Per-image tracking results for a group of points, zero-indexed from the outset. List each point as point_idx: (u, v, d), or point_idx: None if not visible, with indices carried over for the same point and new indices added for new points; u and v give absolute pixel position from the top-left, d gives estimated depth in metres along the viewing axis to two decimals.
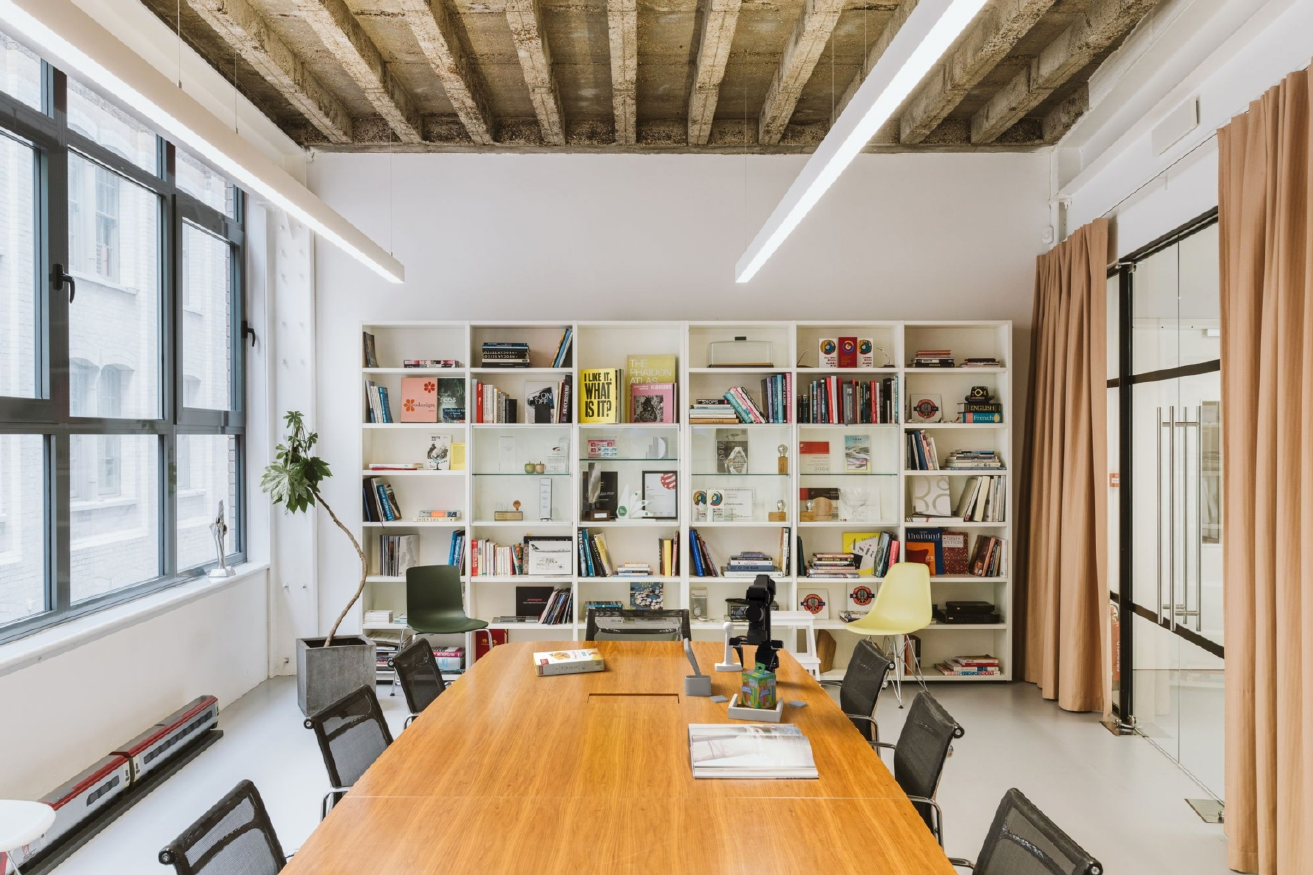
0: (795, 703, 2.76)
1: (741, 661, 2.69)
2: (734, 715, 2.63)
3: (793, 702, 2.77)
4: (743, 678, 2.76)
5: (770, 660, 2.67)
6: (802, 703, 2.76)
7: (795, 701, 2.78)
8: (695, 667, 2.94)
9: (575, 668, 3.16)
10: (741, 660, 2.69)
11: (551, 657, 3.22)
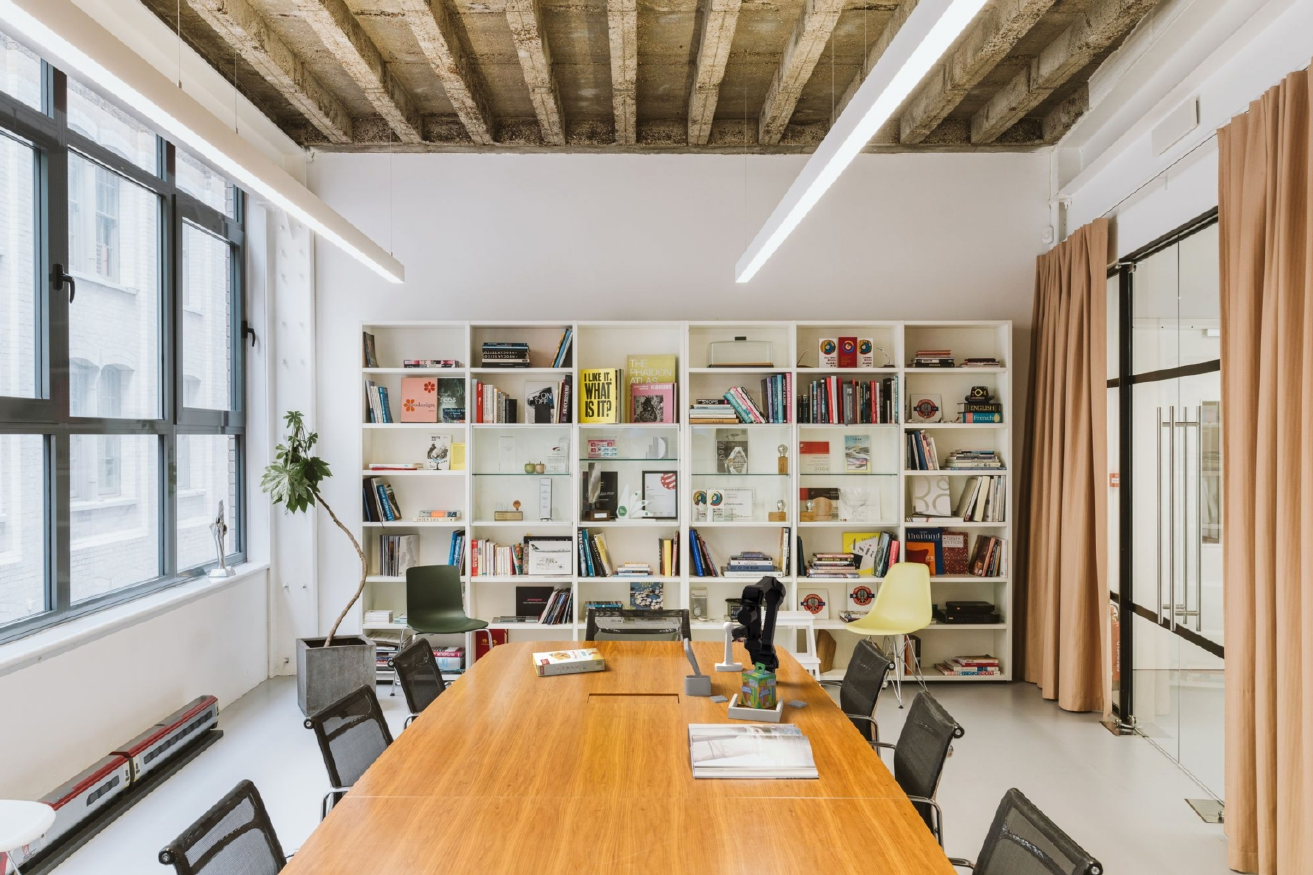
0: (795, 703, 2.76)
1: None
2: (734, 715, 2.63)
3: (793, 702, 2.77)
4: (743, 678, 2.76)
5: (750, 656, 2.84)
6: (802, 703, 2.76)
7: (795, 701, 2.78)
8: (695, 667, 2.94)
9: (576, 668, 3.16)
10: None
11: (551, 657, 3.22)
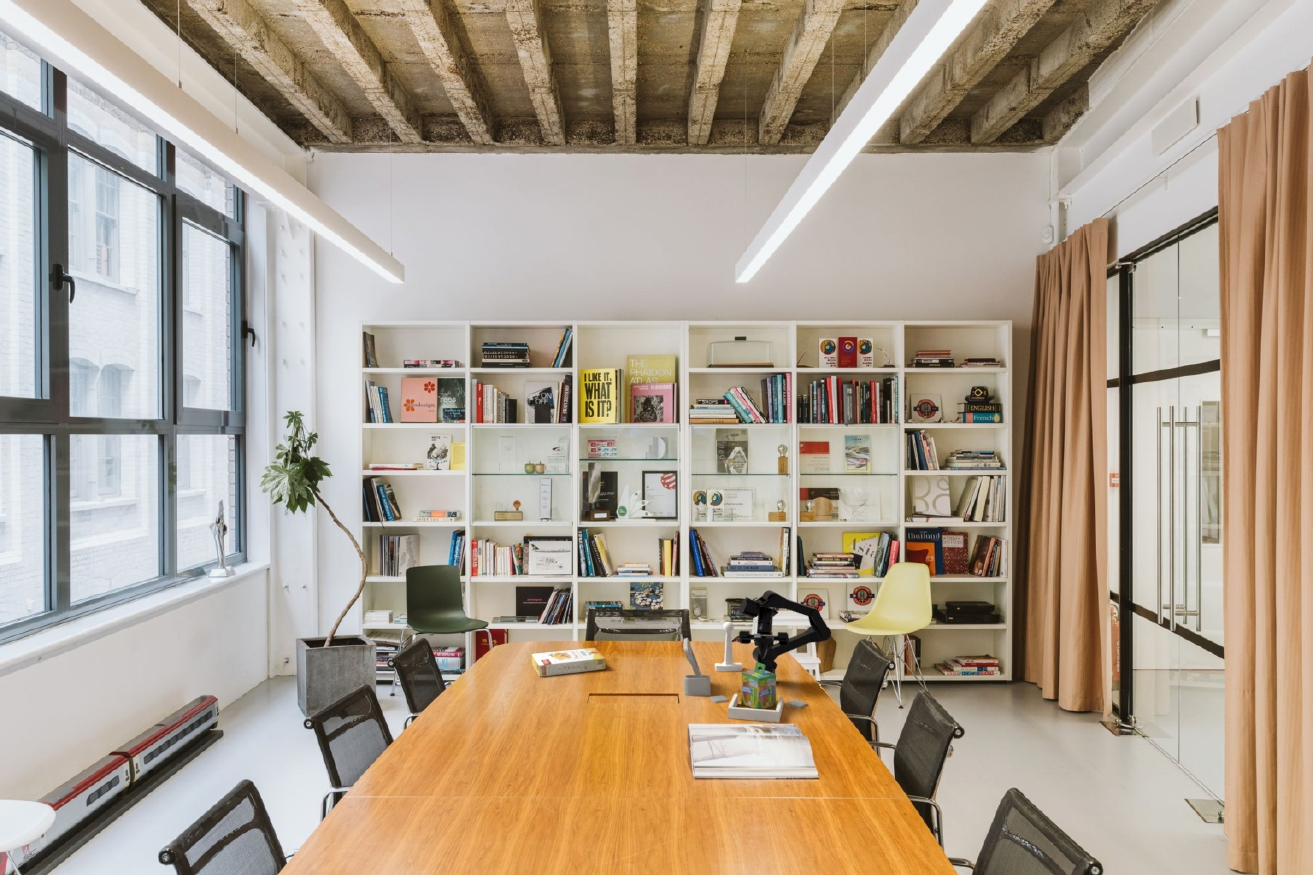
0: (795, 703, 2.75)
1: None
2: (734, 715, 2.63)
3: (793, 702, 2.77)
4: (743, 677, 2.76)
5: None
6: (802, 703, 2.76)
7: (795, 701, 2.78)
8: (695, 667, 2.94)
9: (578, 668, 3.16)
10: None
11: (552, 657, 3.21)
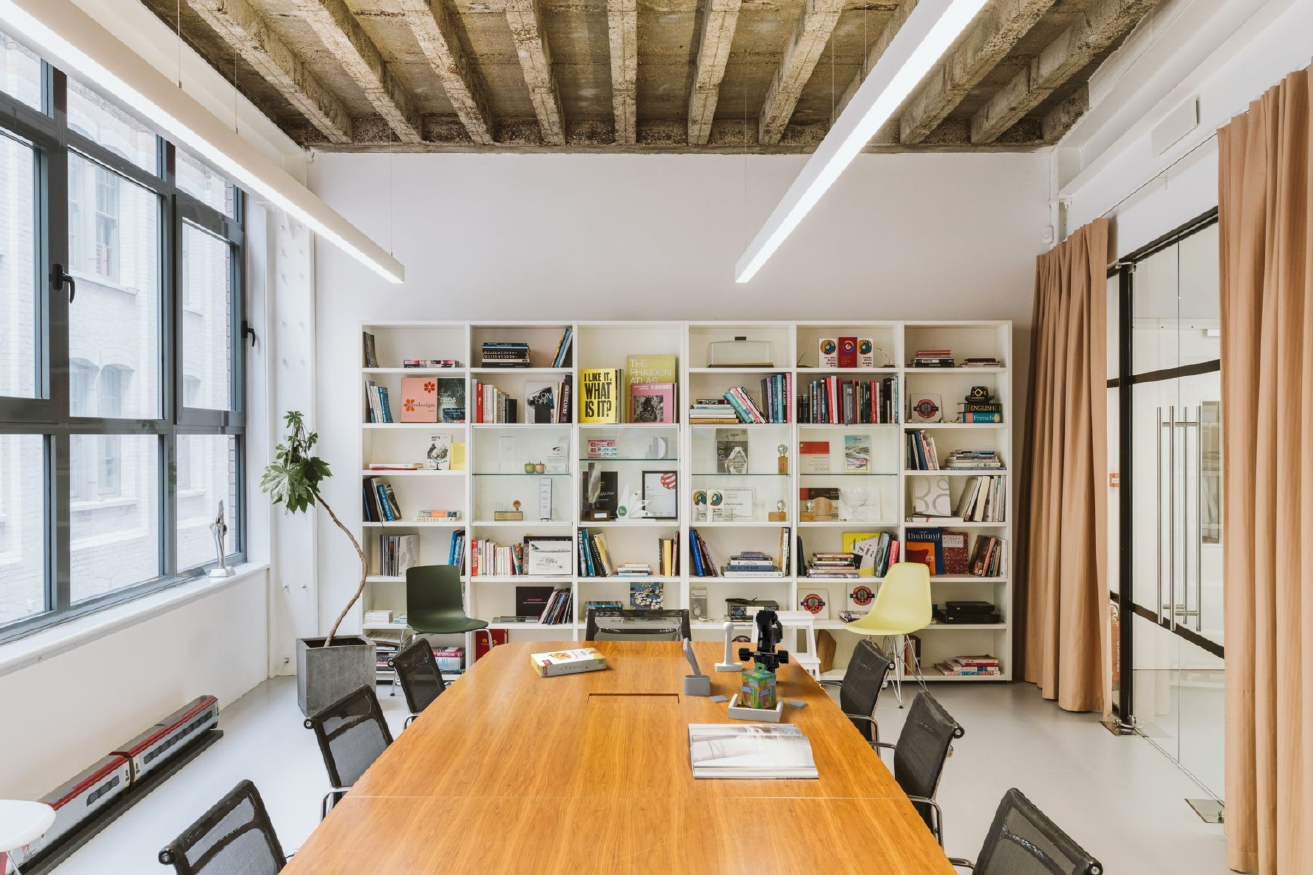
0: (795, 703, 2.75)
1: None
2: (734, 715, 2.63)
3: (793, 702, 2.77)
4: (743, 678, 2.76)
5: None
6: (802, 703, 2.76)
7: (795, 701, 2.78)
8: (694, 667, 2.94)
9: (579, 668, 3.16)
10: None
11: (552, 658, 3.21)
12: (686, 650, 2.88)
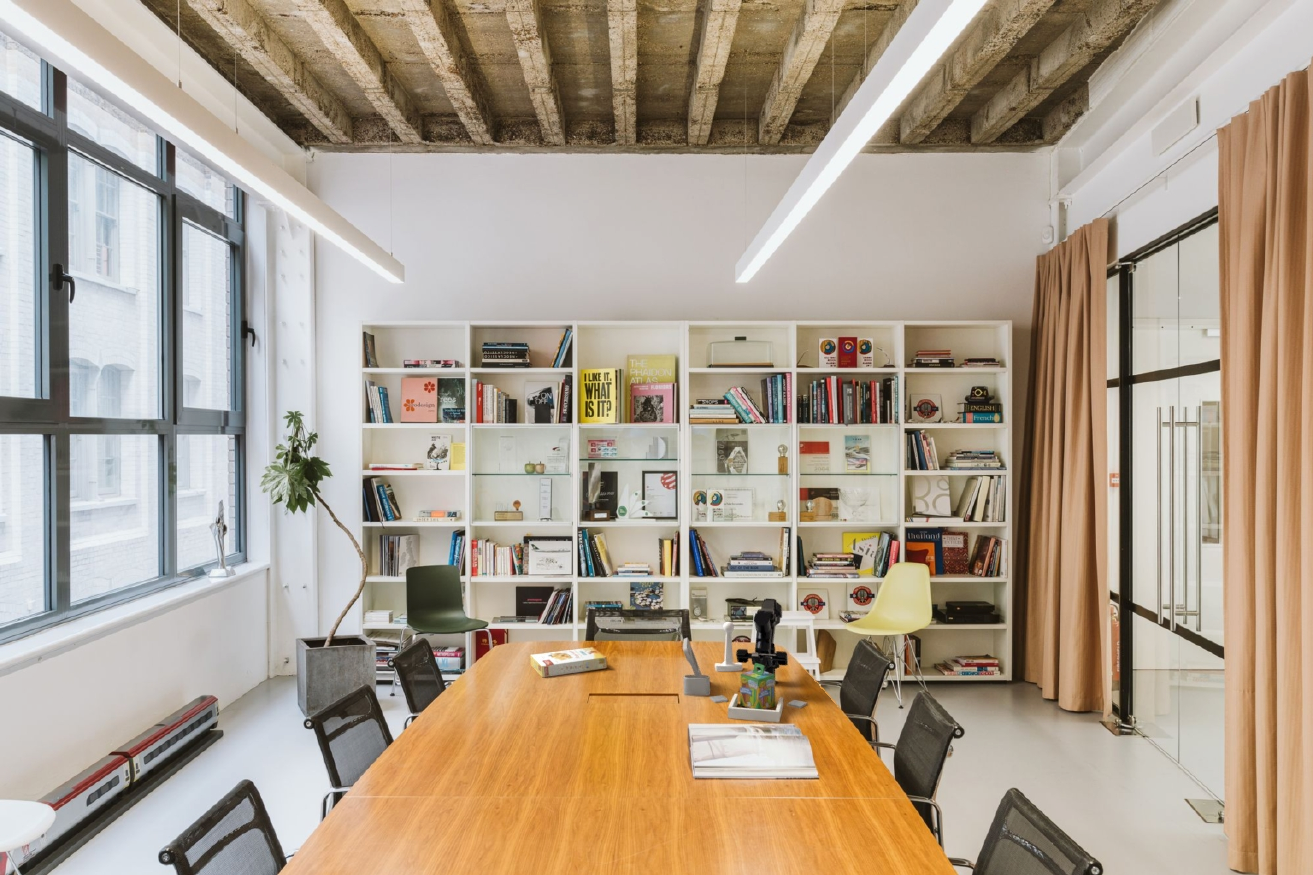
0: (795, 703, 2.75)
1: None
2: (734, 715, 2.63)
3: (793, 702, 2.76)
4: (742, 679, 2.75)
5: None
6: (802, 703, 2.76)
7: (795, 701, 2.78)
8: (694, 667, 2.94)
9: (580, 668, 3.17)
10: None
11: (552, 658, 3.21)
12: (686, 650, 2.88)
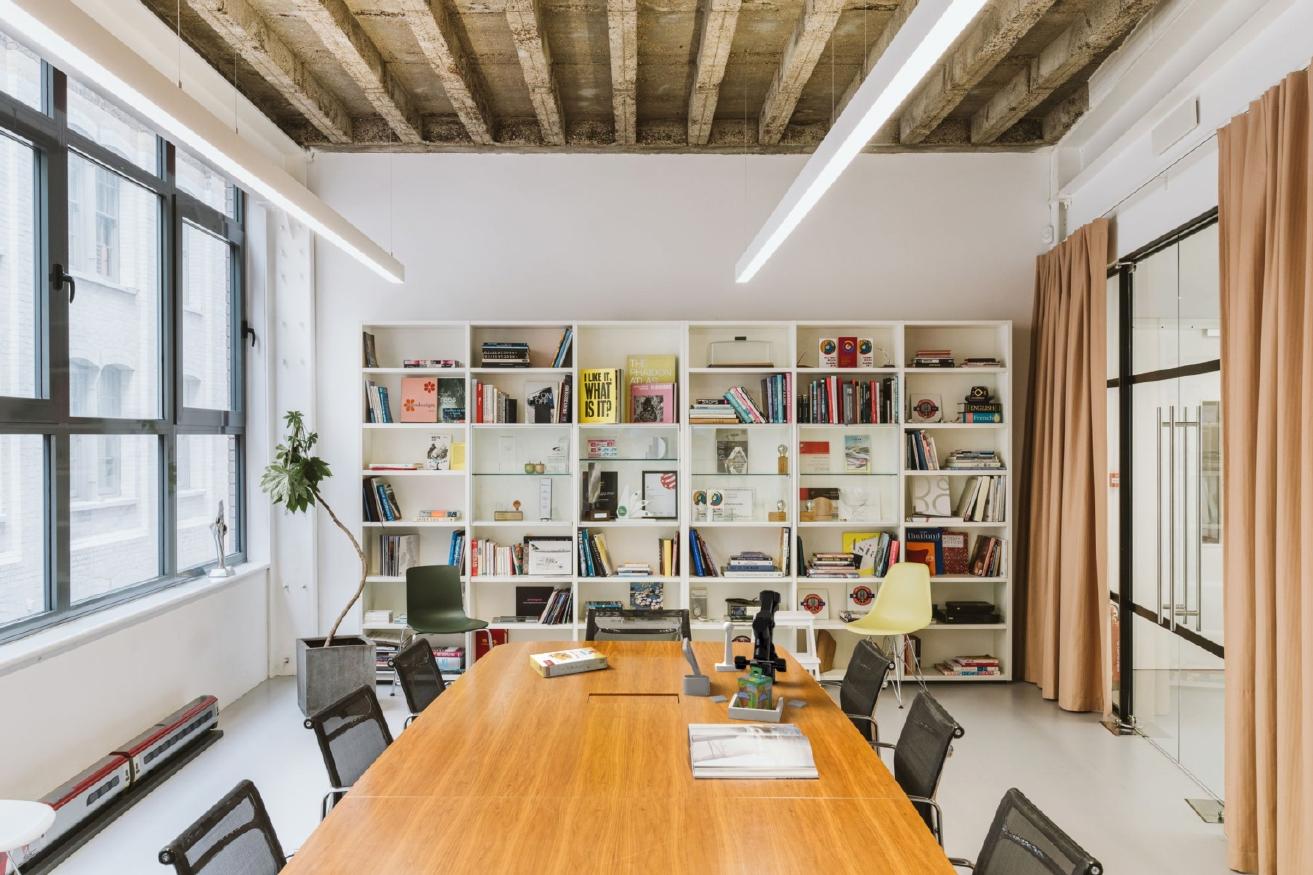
0: (795, 703, 2.75)
1: None
2: (734, 715, 2.63)
3: (793, 702, 2.76)
4: (739, 683, 2.70)
5: None
6: (802, 703, 2.76)
7: (794, 701, 2.78)
8: (694, 667, 2.94)
9: (580, 667, 3.17)
10: None
11: (553, 658, 3.20)
12: (685, 650, 2.88)
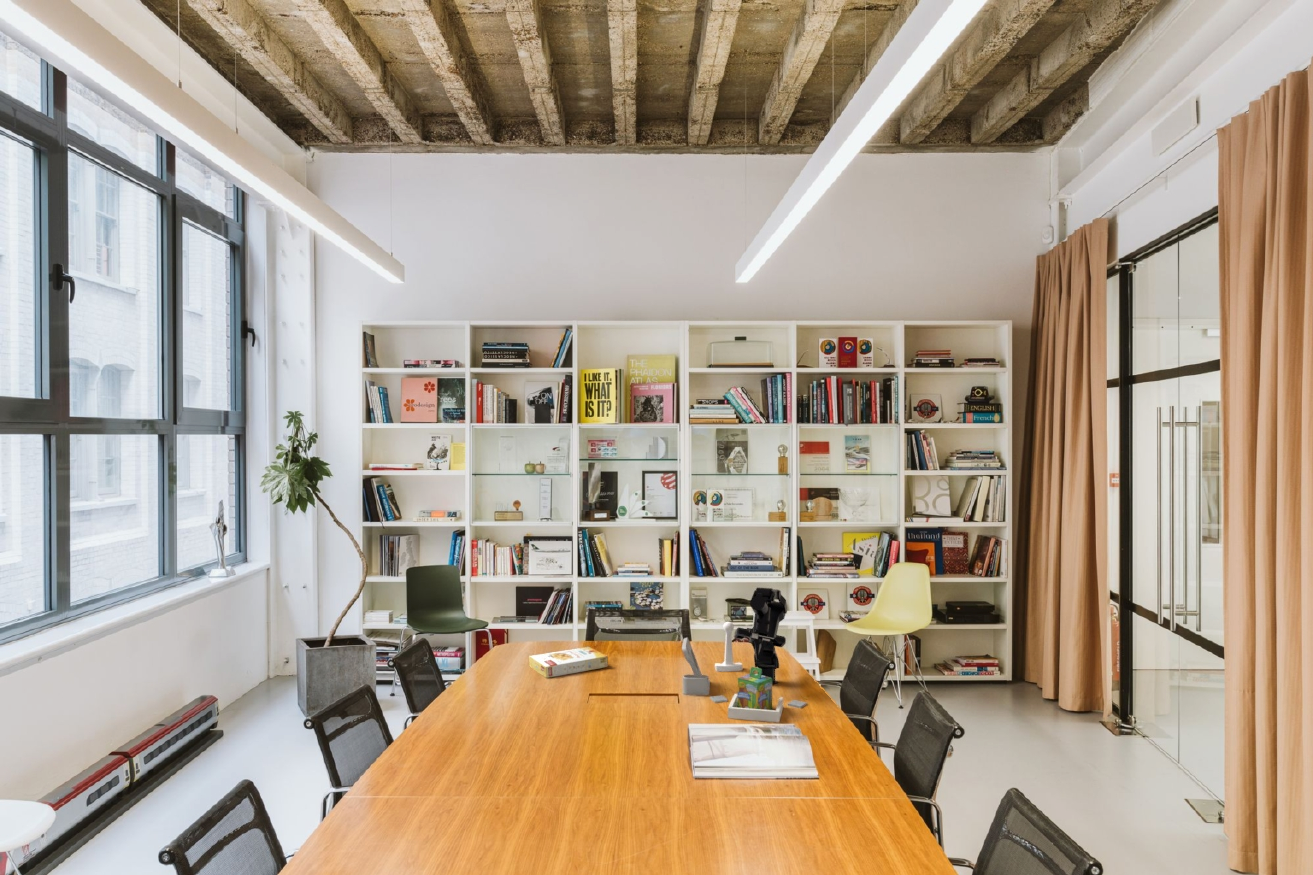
0: (795, 703, 2.75)
1: None
2: (734, 715, 2.63)
3: (793, 702, 2.76)
4: (739, 683, 2.70)
5: None
6: (802, 703, 2.76)
7: (794, 701, 2.78)
8: (694, 667, 2.94)
9: (582, 667, 3.17)
10: None
11: (554, 658, 3.20)
12: (685, 650, 2.88)
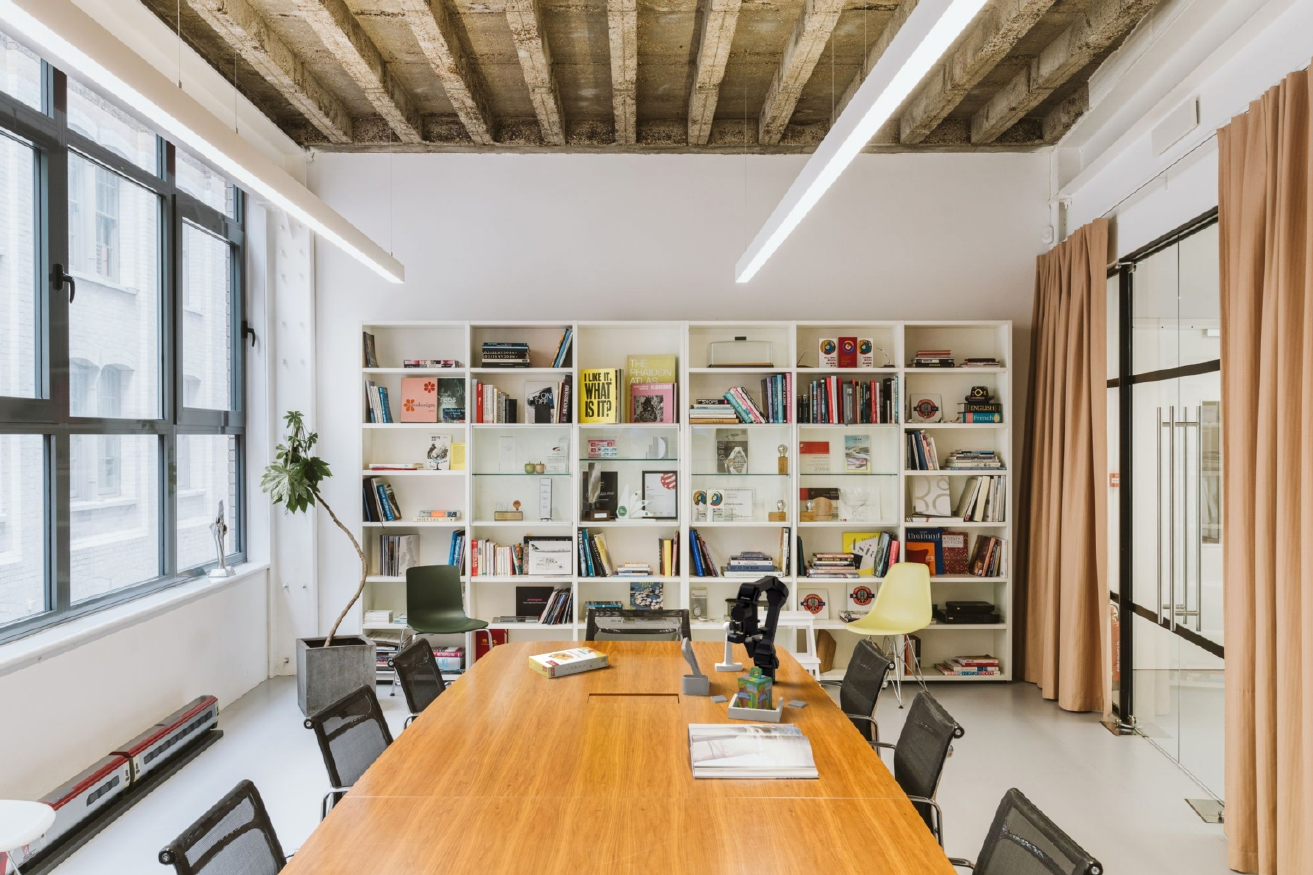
0: (795, 703, 2.75)
1: None
2: (734, 715, 2.63)
3: (793, 702, 2.76)
4: (739, 683, 2.70)
5: None
6: (802, 703, 2.76)
7: (794, 701, 2.78)
8: (693, 667, 2.94)
9: (583, 667, 3.18)
10: None
11: (554, 658, 3.20)
12: (684, 650, 2.88)
